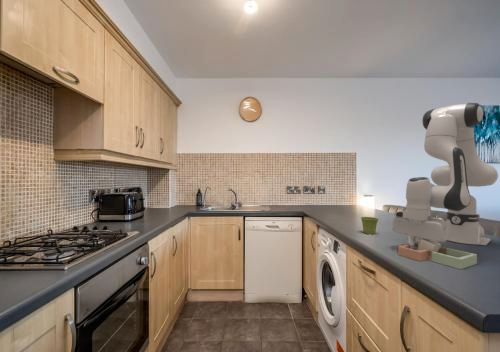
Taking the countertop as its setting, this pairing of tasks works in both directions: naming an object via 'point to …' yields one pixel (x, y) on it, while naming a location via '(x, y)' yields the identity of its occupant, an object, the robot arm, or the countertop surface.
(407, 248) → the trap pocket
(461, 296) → the countertop surface
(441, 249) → the brown piece
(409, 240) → the beige cube
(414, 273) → the countertop surface
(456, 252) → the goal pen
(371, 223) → the plant pot
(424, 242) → the block
